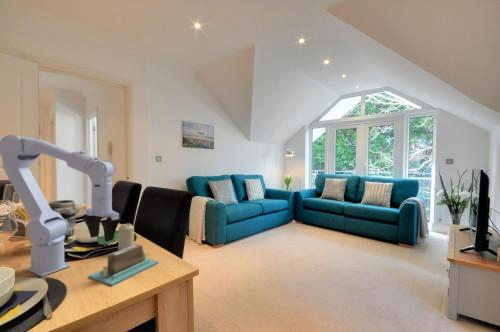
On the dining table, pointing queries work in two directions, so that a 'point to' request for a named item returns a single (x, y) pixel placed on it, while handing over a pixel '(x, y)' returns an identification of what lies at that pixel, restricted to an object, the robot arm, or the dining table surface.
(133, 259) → the walnut frame
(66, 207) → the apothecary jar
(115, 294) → the dining table surface
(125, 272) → the light blue peg board
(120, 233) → the candle
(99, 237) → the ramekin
